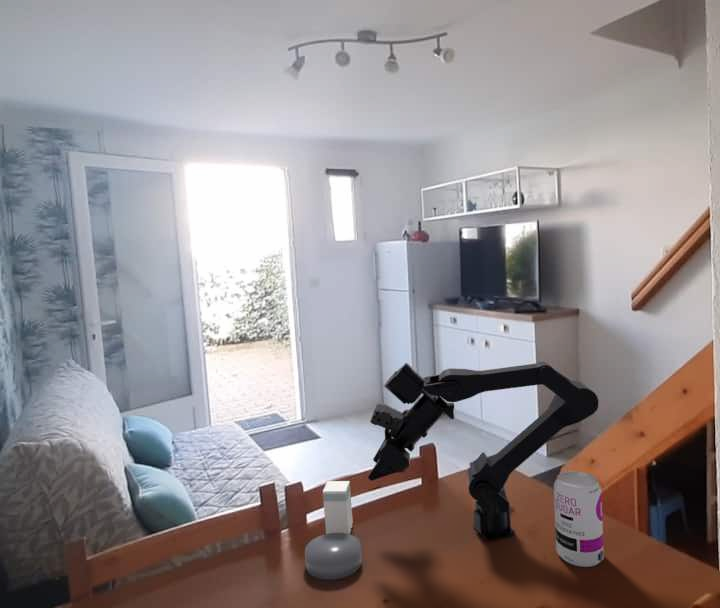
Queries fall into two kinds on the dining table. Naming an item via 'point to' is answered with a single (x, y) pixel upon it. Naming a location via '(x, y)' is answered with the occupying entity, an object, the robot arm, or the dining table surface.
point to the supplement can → (578, 519)
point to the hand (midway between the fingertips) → (372, 469)
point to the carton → (337, 507)
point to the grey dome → (333, 556)
